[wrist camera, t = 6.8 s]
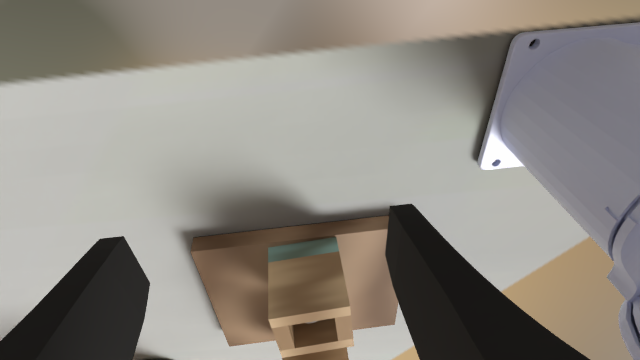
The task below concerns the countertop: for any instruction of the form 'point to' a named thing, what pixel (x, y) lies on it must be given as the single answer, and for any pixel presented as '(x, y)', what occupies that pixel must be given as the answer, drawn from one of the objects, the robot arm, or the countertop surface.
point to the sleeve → (308, 298)
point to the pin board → (252, 274)
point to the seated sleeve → (322, 355)
